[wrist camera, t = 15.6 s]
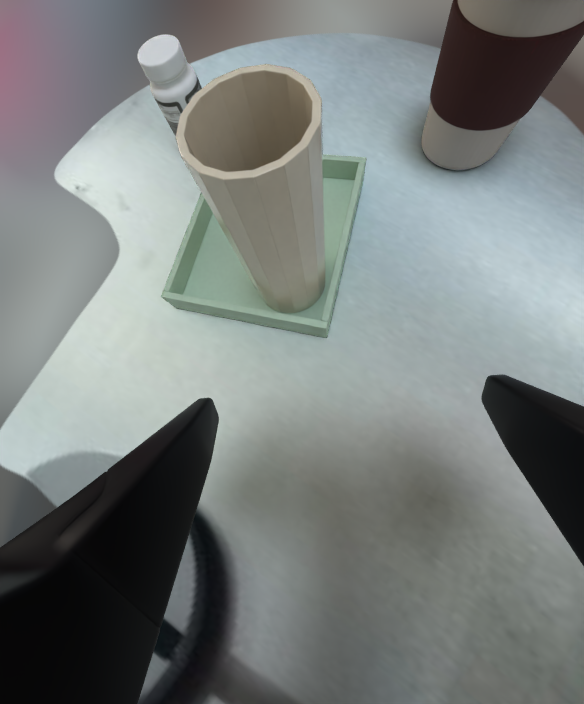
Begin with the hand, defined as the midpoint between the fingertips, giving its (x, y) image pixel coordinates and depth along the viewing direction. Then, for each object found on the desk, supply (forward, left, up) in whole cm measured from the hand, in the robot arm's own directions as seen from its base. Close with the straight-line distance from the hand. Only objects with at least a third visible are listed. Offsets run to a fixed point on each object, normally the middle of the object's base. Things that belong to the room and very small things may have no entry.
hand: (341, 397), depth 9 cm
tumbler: (+11, +6, -13) cm, 18 cm away
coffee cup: (+29, -6, -14) cm, 32 cm away
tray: (+15, +10, -14) cm, 22 cm away
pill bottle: (+27, +22, -14) cm, 37 cm away
